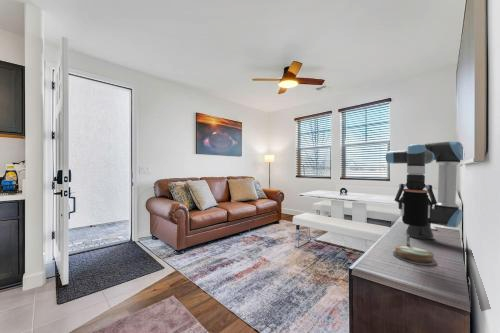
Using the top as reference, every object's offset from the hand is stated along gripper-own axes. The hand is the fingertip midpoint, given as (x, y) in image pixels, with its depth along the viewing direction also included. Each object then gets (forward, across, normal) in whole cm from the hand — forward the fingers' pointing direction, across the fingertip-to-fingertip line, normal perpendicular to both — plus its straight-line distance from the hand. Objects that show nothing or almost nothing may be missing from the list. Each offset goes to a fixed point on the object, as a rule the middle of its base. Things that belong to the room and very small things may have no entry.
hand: (414, 216), depth 114 cm
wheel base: (+22, 0, 0) cm, 22 cm away
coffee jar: (+4, 0, 0) cm, 4 cm away
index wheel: (+22, 0, 0) cm, 22 cm away
